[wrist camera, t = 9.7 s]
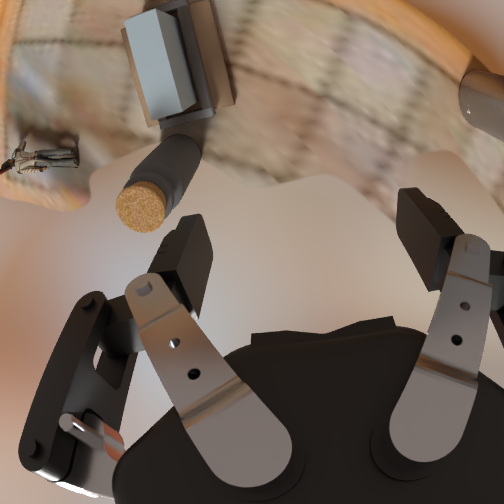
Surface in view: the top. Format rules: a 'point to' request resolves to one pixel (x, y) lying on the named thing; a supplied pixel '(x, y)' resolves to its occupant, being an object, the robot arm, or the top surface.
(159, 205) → the bottle
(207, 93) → the grey piece
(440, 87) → the top surface
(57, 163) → the figurine
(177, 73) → the door
